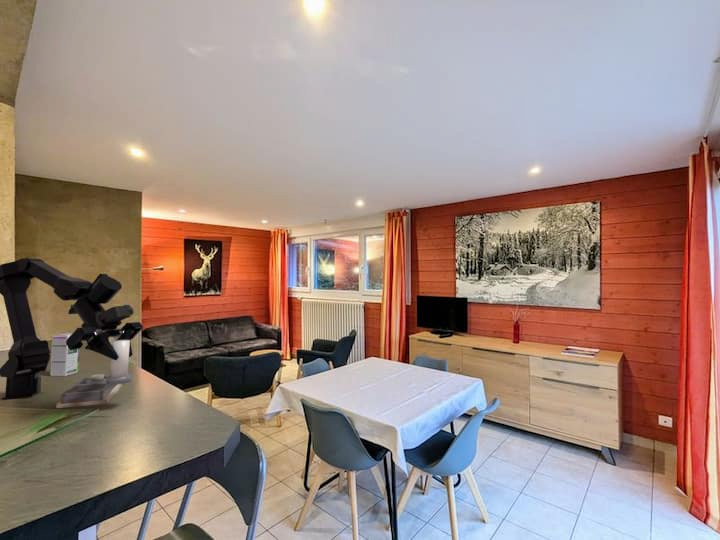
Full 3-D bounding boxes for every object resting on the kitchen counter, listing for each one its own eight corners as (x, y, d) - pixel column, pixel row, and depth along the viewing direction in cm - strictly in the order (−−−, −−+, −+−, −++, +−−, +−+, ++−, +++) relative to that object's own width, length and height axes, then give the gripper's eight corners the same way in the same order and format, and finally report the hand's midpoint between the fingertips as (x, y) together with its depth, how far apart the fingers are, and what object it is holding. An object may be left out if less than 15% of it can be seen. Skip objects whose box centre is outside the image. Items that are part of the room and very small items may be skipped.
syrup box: (65, 376, 122) (68, 335, 123) (49, 376, 122) (52, 334, 123) (78, 372, 128) (81, 333, 129) (63, 372, 128) (66, 332, 129)
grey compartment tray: (56, 408, 91) (57, 388, 91) (79, 389, 108) (80, 372, 108) (106, 403, 95) (107, 385, 96) (121, 385, 112) (122, 370, 112)
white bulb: (103, 385, 90) (105, 342, 91) (108, 380, 95) (111, 339, 96) (128, 383, 92) (131, 342, 93) (132, 378, 98) (135, 339, 98)
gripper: (78, 295, 87) (111, 342, 84) (139, 295, 105) (169, 333, 102) (51, 325, 88) (83, 372, 85) (116, 320, 106) (145, 358, 103)
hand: (124, 357), depth 94 cm, fingers closed on white bulb, 4 cm apart
